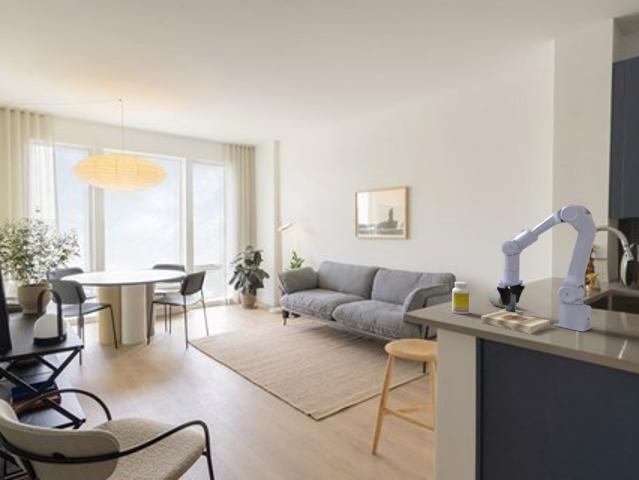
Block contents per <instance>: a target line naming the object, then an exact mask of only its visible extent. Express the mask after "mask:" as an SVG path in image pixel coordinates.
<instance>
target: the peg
mask: <svg viewBox="0 0 639 480" xmlns="http://www.w3.org/2000/svg"><path fill="white" fill-rule="evenodd" d="M516 304H517V303H516V294H514V293H511V295H510V300H509V305H508V306H507V305H506V308H505V309H506V311H508V312H516V310H517V309H516V308H517V305H516Z"/></svg>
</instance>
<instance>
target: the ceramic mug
mask: <svg viewBox="0 0 639 480" xmlns="http://www.w3.org/2000/svg"><path fill="white" fill-rule="evenodd" d="M488 301H489V302H490V303H491V305H493V306H496V307H499V308H501V309H506V305H503V304H502V300H501V296H500V294H499V292H498V290H497V288H494V289H492V290H491V291H489V294H488ZM517 305H518V303H516V306H517Z"/></svg>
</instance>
